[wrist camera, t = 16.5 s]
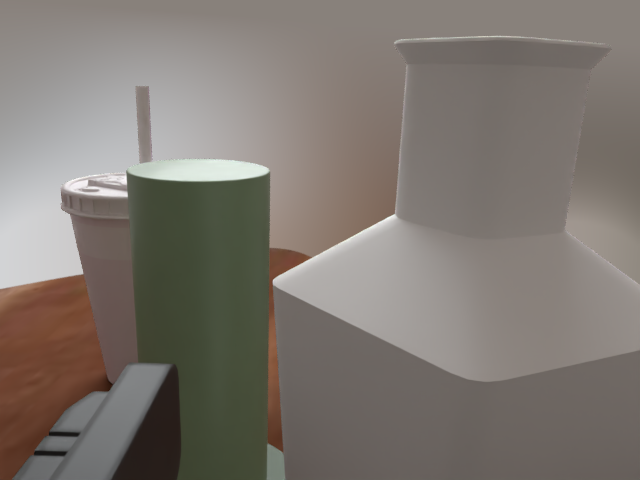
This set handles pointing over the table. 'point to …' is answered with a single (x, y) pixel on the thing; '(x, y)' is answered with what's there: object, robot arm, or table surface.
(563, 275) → the perfume bottle
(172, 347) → the post
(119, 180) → the smoothie
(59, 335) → the table surface
